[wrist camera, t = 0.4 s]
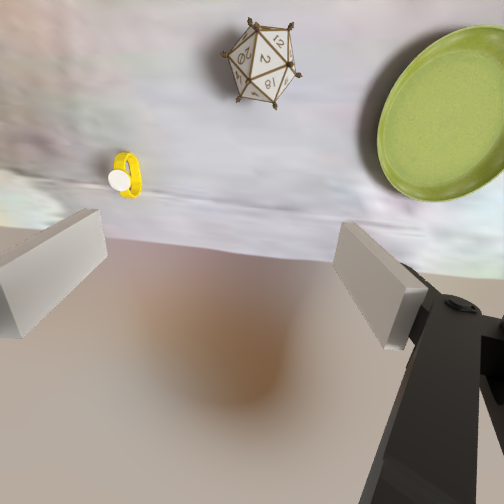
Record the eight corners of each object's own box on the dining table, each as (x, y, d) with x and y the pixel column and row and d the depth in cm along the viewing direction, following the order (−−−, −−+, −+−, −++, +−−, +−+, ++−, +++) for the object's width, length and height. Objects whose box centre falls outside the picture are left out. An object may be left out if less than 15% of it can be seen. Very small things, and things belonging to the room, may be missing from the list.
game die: (255, 92, 39) (225, 127, 34) (234, 17, 33) (194, 46, 28) (317, 80, 35) (294, 118, 29) (306, -8, 29) (275, 20, 23)
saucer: (419, 4, 32) (436, -7, 30) (554, 68, 36) (581, 63, 33) (343, 174, 41) (351, 178, 38) (458, 213, 44) (473, 219, 41)
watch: (149, 191, 41) (135, 204, 36) (130, 191, 41) (114, 204, 36) (141, 149, 38) (125, 157, 33) (121, 149, 38) (102, 157, 33)
